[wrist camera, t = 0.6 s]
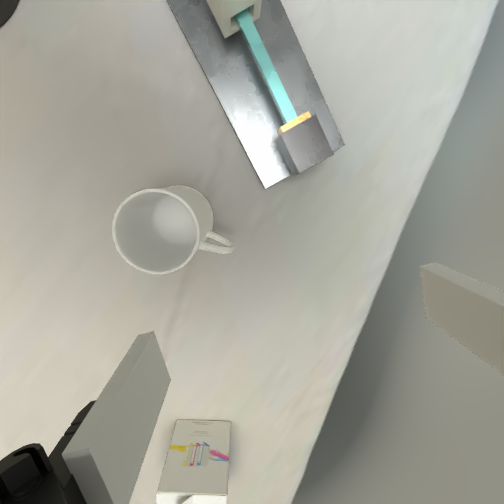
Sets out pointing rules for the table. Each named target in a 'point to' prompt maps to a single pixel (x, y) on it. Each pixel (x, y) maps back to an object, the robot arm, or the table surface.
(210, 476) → the ink box
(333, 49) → the table surface
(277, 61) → the glowing rod on plate
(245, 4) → the sleeve
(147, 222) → the mug
